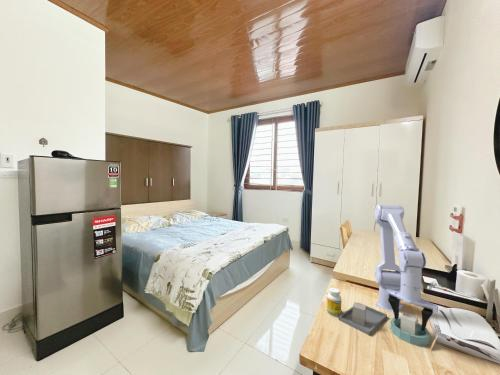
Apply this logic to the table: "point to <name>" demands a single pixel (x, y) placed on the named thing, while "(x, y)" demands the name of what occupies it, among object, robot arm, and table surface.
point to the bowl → (419, 340)
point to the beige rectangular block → (409, 324)
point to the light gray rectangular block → (359, 314)
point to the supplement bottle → (334, 302)
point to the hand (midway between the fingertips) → (409, 323)
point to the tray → (372, 320)
